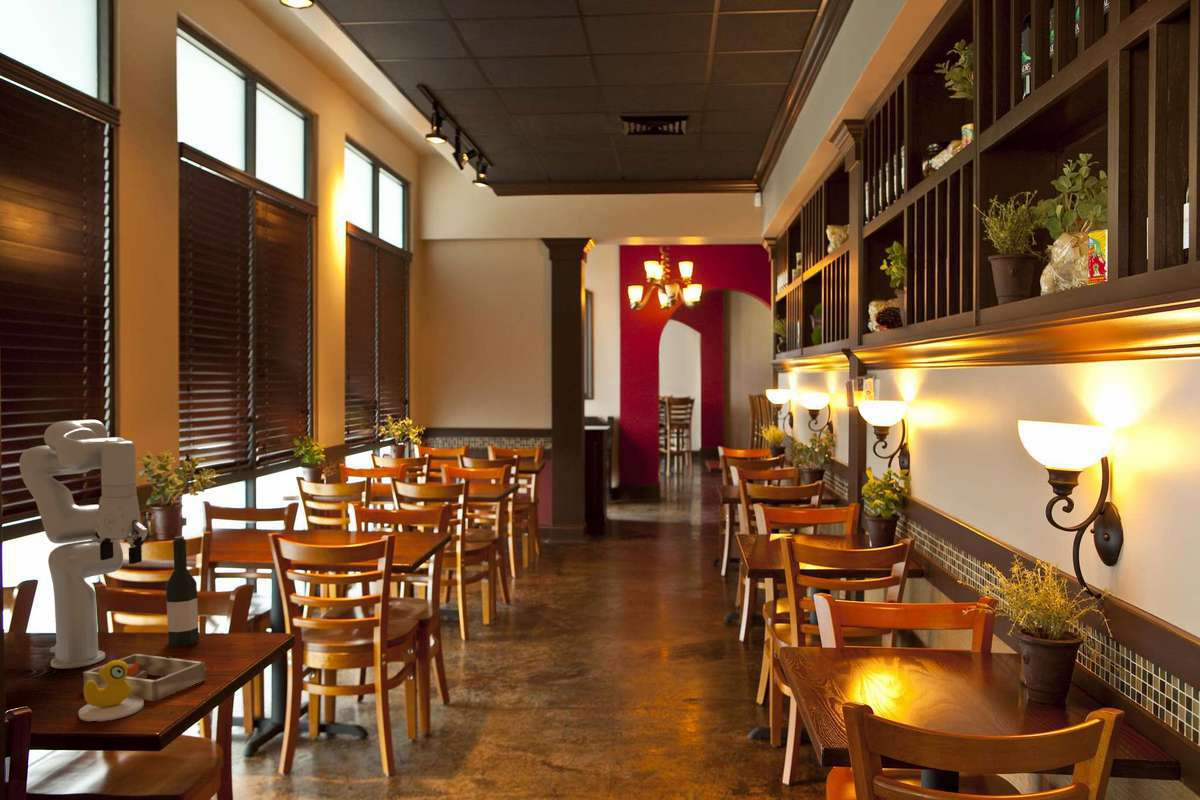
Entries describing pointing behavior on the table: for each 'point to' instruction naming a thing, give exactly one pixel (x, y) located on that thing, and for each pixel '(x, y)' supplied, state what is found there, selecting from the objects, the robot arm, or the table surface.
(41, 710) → the table surface
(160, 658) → the tray
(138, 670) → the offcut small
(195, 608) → the wine bottle
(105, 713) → the plate
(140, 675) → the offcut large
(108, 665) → the duckling
